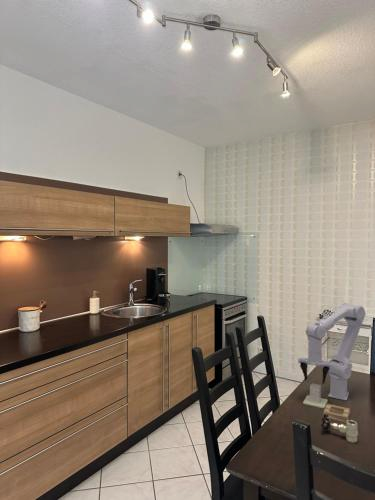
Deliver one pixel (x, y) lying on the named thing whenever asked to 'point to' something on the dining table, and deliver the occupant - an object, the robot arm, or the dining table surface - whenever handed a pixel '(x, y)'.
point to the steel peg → (315, 393)
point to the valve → (342, 428)
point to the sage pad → (320, 405)
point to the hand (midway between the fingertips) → (314, 381)
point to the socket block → (339, 410)
